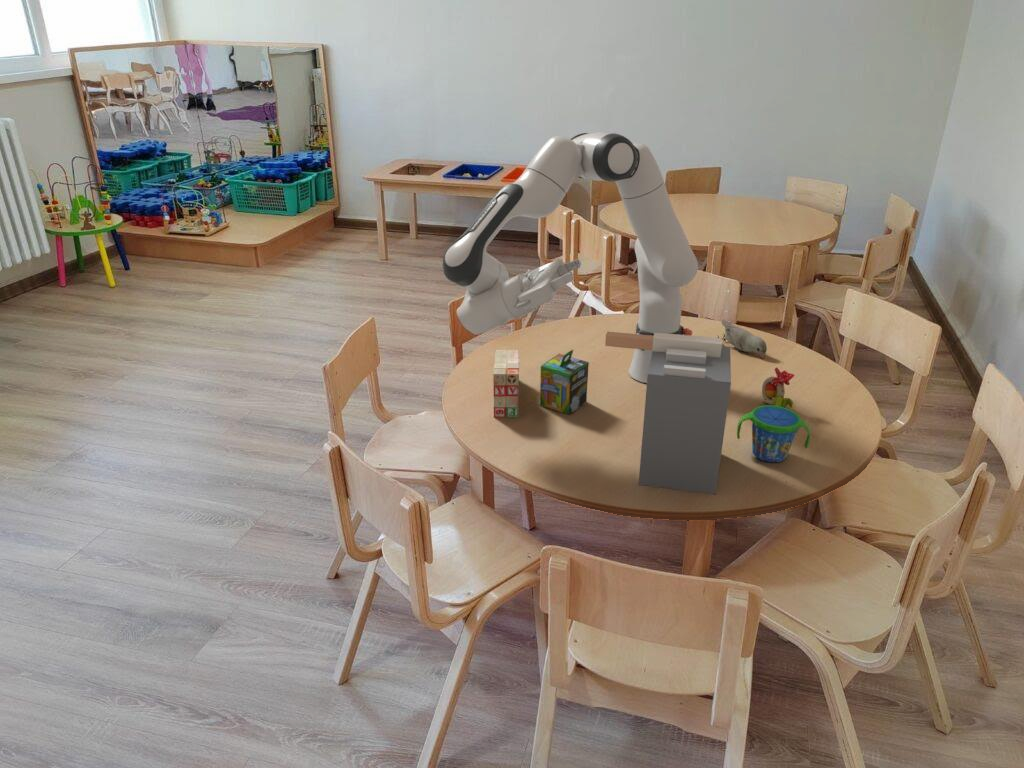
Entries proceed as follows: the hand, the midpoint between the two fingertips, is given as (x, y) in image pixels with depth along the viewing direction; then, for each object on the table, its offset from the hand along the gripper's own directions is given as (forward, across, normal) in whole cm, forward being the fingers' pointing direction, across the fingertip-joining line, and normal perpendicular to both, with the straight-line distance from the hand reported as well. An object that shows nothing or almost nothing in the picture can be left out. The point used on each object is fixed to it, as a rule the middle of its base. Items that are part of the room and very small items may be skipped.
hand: (576, 268), depth 168 cm
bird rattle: (+21, +24, +59) cm, 67 cm away
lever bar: (+10, -6, +22) cm, 25 cm away
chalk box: (-24, +14, +33) cm, 43 cm away
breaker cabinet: (+2, -10, +48) cm, 49 cm away
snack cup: (+19, 0, +58) cm, 61 cm away
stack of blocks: (-37, +13, +26) cm, 47 cm away
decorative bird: (+15, +60, +56) cm, 83 cm away
